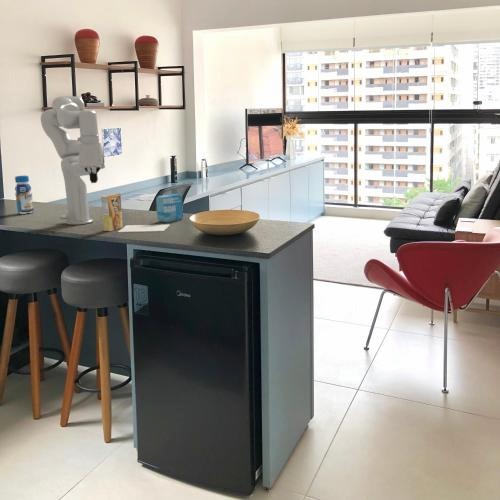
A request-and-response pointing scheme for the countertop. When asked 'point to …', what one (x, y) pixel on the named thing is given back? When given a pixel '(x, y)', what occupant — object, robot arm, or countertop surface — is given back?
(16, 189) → the beverage bottle
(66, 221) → the robot arm
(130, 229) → the felt mat
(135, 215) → the countertop surface
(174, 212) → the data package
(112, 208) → the candy box
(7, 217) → the countertop surface
